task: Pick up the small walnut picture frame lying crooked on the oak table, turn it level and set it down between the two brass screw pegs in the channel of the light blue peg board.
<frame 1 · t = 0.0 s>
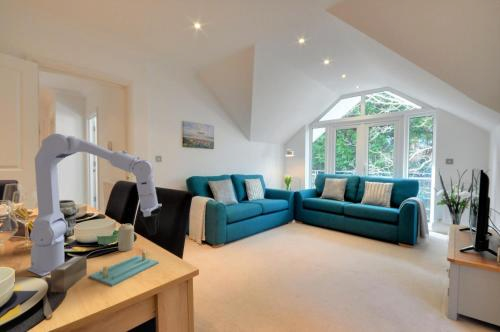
hand: (154, 231, 86), 11 cm above the table, tool pointing down, fingers open, 7 cm apart
walnut frame: (70, 283, 70), on the table
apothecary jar: (61, 244, 100), on the table
candle: (126, 249, 96), on the table
light blue peg board: (126, 269, 79), on the table
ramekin: (109, 243, 102), on the table
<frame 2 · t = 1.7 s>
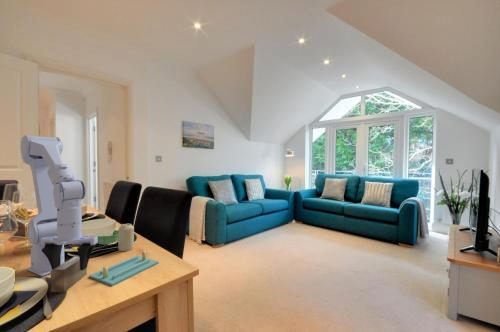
hand: (70, 268, 70), 4 cm above the table, tool pointing down, fingers open, 7 cm apart
nothing on the table moved.
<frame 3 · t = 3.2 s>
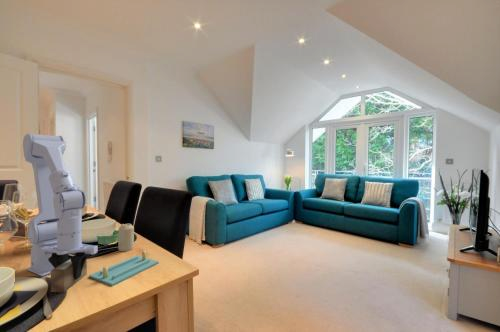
hand: (70, 278, 70), 1 cm above the table, tool pointing down, fingers closed on walnut frame, 3 cm apart
walnut frame: (70, 282, 70), on the table, touching gripper
everything else where it was.
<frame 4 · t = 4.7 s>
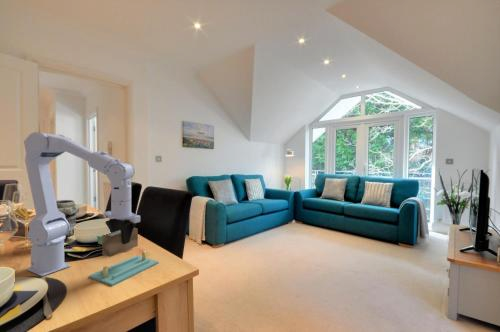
hand: (121, 242, 77), 9 cm above the table, tool pointing down, fingers closed on walnut frame, 3 cm apart
walnut frame: (121, 250, 77), point 7 cm above the table, touching gripper
everything else where it was.
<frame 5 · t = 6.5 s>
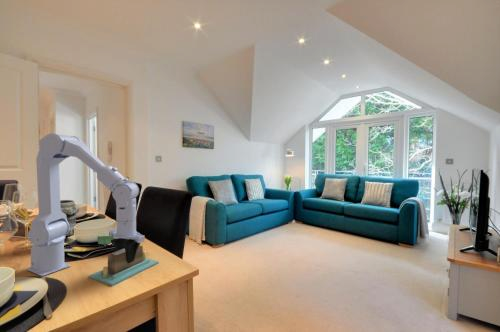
hand: (126, 260, 78), 3 cm above the table, tool pointing down, fingers closed on walnut frame, 3 cm apart
walnut frame: (125, 268, 78), point 1 cm above the table, touching gripper, light blue peg board
everything else where it was.
when the fingers open (3 cm above the table, at t = 6.9 s): walnut frame stays where it is, resting on light blue peg board.
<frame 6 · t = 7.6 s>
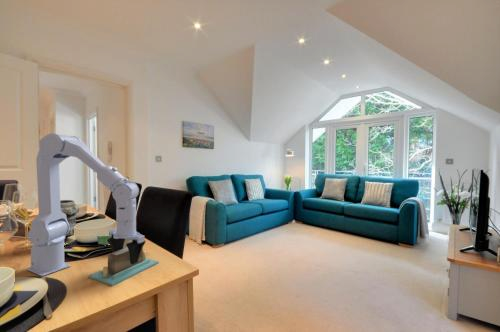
hand: (126, 260, 78), 3 cm above the table, tool pointing down, fingers open, 7 cm apart
walnut frame: (125, 268, 78), point 1 cm above the table, touching light blue peg board
everything else where it was.
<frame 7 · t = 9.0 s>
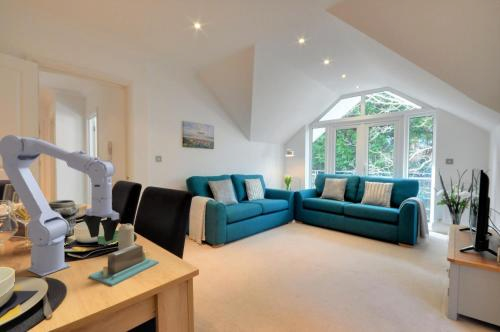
hand: (101, 238, 79), 10 cm above the table, tool pointing down, fingers open, 7 cm apart
nothing on the table moved.
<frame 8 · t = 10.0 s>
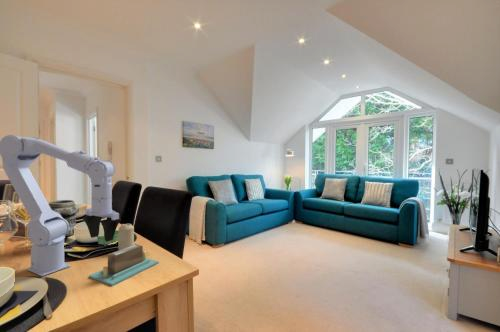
hand: (101, 238, 79), 10 cm above the table, tool pointing down, fingers open, 7 cm apart
nothing on the table moved.
at the end: walnut frame 0.1 cm off-centre on the light blue peg board, point 0.6 cm above the light blue peg board's base; walnut frame tilted 0°; the gripper is holding nothing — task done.
